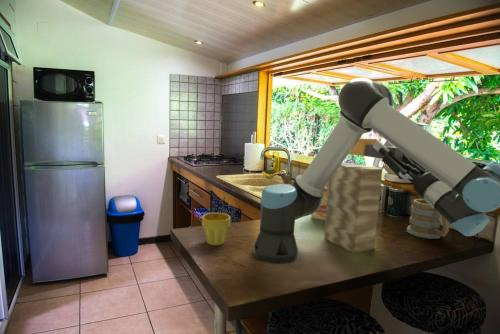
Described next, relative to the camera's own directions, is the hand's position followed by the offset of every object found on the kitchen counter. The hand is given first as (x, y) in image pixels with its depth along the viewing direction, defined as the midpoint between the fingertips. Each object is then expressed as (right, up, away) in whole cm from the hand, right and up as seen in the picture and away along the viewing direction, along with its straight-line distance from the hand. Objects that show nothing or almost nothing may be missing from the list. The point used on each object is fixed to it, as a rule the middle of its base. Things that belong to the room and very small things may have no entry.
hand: (380, 143), depth 112 cm
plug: (-1, -4, +3) cm, 5 cm away
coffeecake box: (-7, -33, +47) cm, 57 cm away
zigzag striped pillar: (-7, -37, +14) cm, 40 cm away
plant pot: (-57, -36, +10) cm, 68 cm away
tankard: (+31, -37, +27) cm, 56 cm away
